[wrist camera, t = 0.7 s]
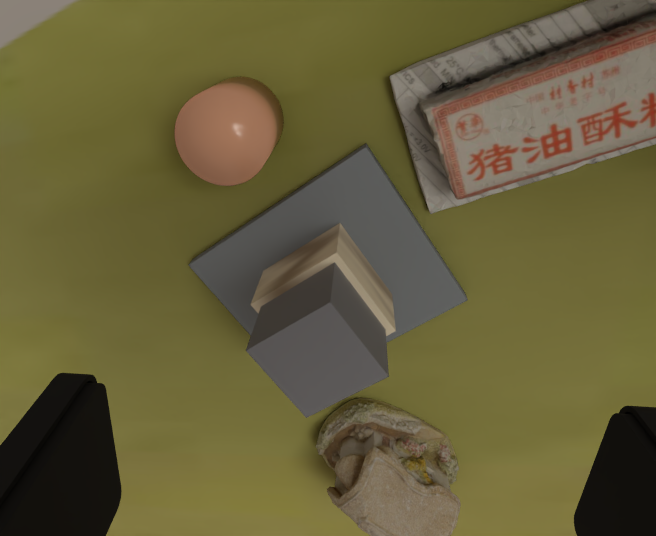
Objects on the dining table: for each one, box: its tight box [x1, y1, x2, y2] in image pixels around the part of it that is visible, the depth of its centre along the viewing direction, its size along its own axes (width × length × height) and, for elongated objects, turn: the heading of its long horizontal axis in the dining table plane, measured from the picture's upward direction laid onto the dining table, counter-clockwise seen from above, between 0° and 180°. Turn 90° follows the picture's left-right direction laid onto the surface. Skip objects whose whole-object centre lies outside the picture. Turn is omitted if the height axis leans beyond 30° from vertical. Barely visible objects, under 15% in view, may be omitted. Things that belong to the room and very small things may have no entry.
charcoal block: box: [246, 262, 389, 418], centre depth 33 cm, size 6×6×5 cm
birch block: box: [251, 223, 396, 336], centre depth 37 cm, size 7×7×5 cm
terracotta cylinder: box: [175, 77, 284, 186], centre depth 33 cm, size 6×6×6 cm
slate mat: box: [189, 144, 468, 343], centre depth 40 cm, size 16×14×1 cm
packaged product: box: [390, 0, 656, 214], centre depth 32 cm, size 18×5×10 cm
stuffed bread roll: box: [316, 398, 461, 536], centre depth 44 cm, size 14×11×10 cm
